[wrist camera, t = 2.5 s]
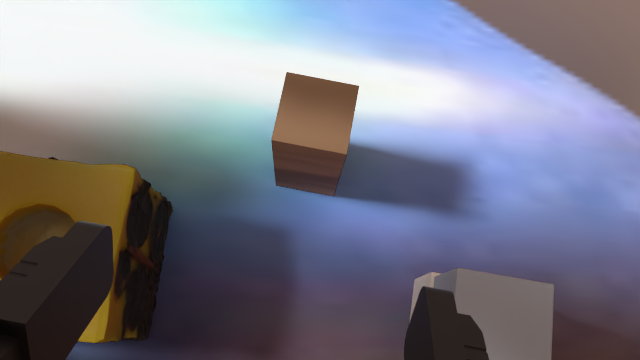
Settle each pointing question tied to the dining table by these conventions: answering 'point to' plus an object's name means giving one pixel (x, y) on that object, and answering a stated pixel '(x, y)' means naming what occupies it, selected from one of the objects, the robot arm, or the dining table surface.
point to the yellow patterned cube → (97, 207)
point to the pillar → (312, 133)
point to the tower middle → (505, 312)
